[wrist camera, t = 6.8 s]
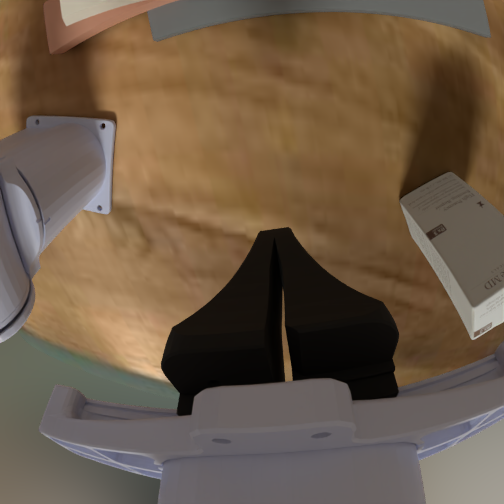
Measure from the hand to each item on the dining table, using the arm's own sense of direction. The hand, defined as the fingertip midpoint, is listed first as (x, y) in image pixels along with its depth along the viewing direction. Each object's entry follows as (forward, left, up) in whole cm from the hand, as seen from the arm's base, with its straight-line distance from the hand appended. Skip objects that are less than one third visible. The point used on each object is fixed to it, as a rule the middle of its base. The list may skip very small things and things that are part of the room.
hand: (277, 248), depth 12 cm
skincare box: (+14, +2, -10) cm, 17 cm away
